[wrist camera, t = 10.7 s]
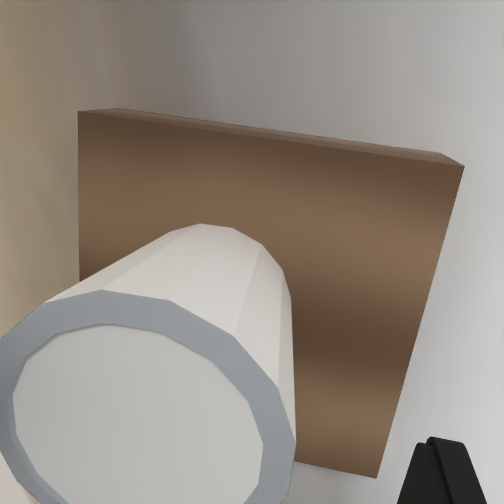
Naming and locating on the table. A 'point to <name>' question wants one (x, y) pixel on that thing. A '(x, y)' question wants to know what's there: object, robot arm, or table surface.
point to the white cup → (157, 379)
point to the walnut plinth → (289, 247)
